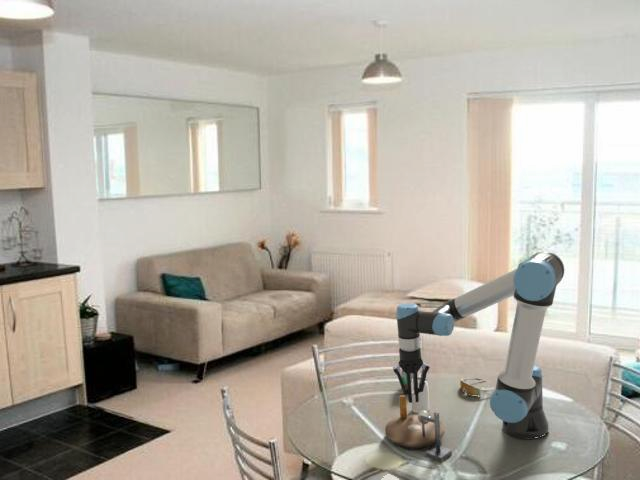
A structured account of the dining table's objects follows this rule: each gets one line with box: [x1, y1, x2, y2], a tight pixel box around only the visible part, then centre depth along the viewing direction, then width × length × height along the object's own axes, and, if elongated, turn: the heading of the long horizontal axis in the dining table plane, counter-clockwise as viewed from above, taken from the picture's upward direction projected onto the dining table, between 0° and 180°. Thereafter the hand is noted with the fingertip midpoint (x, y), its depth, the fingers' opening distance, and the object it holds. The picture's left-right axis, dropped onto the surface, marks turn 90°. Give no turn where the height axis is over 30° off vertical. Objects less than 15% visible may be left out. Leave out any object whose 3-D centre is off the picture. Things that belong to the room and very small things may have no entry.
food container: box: [400, 369, 419, 396], centre depth 262 cm, size 12×6×10 cm, turn 168°
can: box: [411, 377, 430, 415], centre depth 243 cm, size 6×6×12 cm
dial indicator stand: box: [417, 410, 453, 463], centre depth 211 cm, size 10×6×14 cm, turn 46°
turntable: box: [384, 394, 445, 446], centre depth 222 cm, size 20×20×10 cm
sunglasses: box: [460, 377, 495, 396], centre depth 258 cm, size 14×15×5 cm
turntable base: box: [391, 441, 436, 451], centre depth 223 cm, size 16×16×2 cm
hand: (414, 410), depth 231 cm, fingers closed
